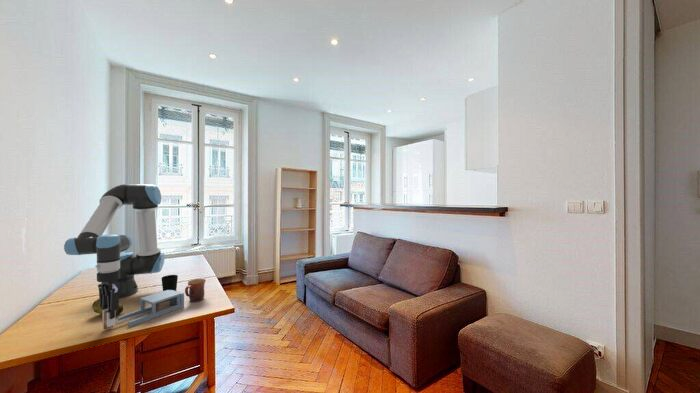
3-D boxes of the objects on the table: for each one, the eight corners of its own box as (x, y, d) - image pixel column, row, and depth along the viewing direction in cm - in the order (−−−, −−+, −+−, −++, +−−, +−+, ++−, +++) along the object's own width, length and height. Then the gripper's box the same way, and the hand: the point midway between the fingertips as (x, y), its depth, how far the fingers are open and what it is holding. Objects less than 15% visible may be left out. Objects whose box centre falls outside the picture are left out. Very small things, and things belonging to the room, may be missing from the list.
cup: (180, 296, 152) (180, 275, 152) (166, 301, 145) (166, 279, 145) (172, 294, 155) (172, 274, 155) (158, 299, 148) (158, 277, 148)
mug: (196, 295, 153) (196, 278, 153) (209, 297, 152) (209, 279, 151) (178, 304, 142) (178, 285, 141) (193, 305, 140) (192, 286, 140)
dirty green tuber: (105, 321, 123) (104, 303, 123) (88, 316, 128) (88, 299, 128) (125, 313, 131) (125, 297, 131) (109, 309, 135) (109, 293, 135)
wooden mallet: (101, 327, 115) (101, 311, 115) (164, 308, 137) (165, 294, 137) (106, 330, 113) (106, 313, 113) (169, 310, 135) (170, 296, 135)
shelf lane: (117, 321, 123) (117, 305, 123) (171, 302, 144) (171, 288, 144) (130, 326, 118) (130, 309, 118) (184, 306, 139) (183, 292, 139)
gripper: (88, 270, 115) (89, 324, 116) (106, 275, 108) (107, 333, 108) (110, 266, 122) (110, 317, 122) (128, 270, 115) (129, 325, 115)
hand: (109, 324), depth 115 cm, fingers closed on wooden mallet, 3 cm apart
